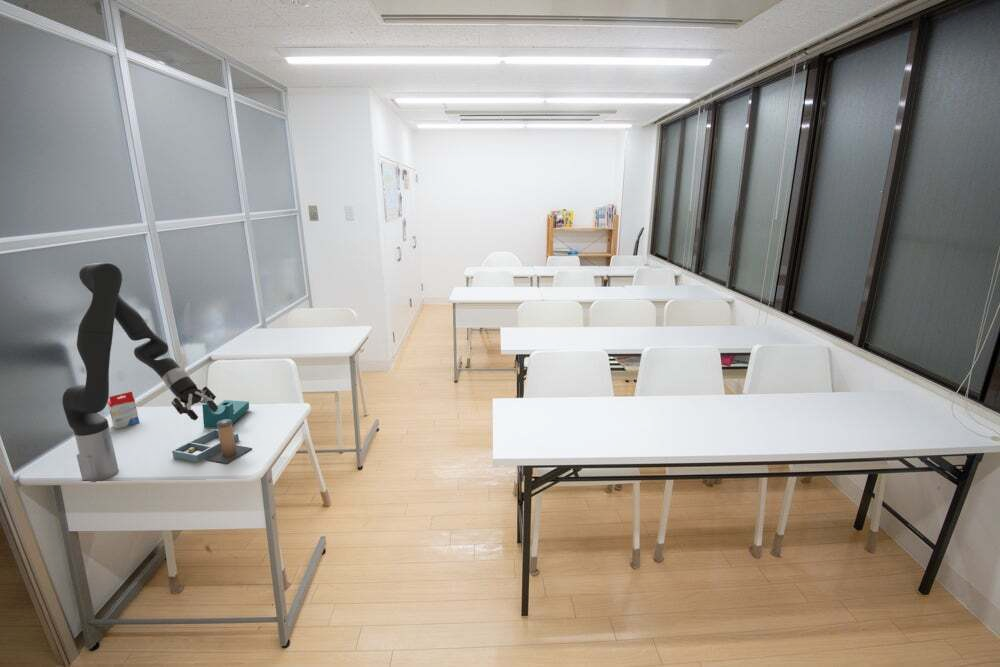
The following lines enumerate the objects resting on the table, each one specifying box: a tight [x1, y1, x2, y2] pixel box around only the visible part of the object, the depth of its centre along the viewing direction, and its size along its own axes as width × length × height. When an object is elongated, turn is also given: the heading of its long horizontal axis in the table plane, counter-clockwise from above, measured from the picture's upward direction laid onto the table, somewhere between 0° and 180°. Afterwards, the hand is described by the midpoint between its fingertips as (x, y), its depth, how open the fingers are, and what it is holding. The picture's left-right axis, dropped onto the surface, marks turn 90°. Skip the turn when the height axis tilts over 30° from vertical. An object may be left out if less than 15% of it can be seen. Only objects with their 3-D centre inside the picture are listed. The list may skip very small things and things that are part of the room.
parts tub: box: [171, 428, 240, 464], centre depth 190 cm, size 19×12×3 cm, turn 162°
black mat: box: [205, 444, 253, 465], centre depth 186 cm, size 12×10×1 cm
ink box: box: [107, 391, 140, 430], centre depth 209 cm, size 8×5×15 cm, turn 139°
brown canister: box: [217, 419, 236, 457], centre depth 184 cm, size 5×5×13 cm
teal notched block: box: [202, 399, 250, 429], centre depth 216 cm, size 18×11×10 cm, turn 2°
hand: (206, 414), depth 184 cm, fingers open, 8 cm apart
